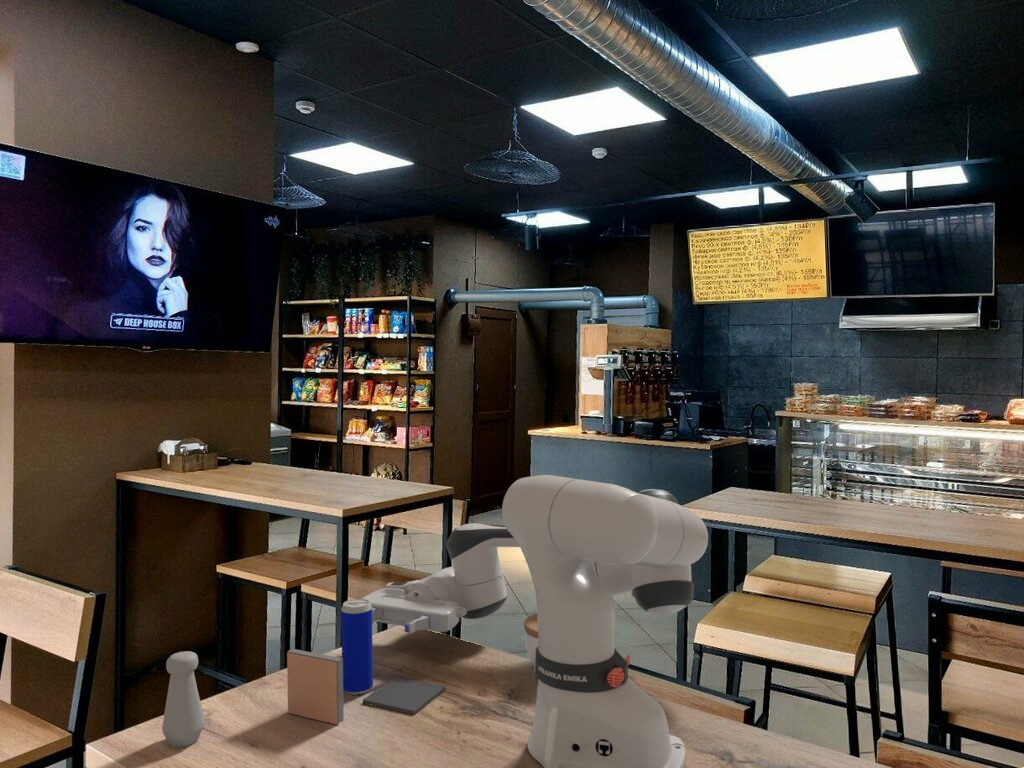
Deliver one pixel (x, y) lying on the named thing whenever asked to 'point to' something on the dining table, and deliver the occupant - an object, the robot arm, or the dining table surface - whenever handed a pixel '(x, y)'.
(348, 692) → the beverage can
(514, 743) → the dining table surface
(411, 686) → the rubber mat
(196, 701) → the salt shaker
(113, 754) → the dining table surface
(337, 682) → the ceramic tile
